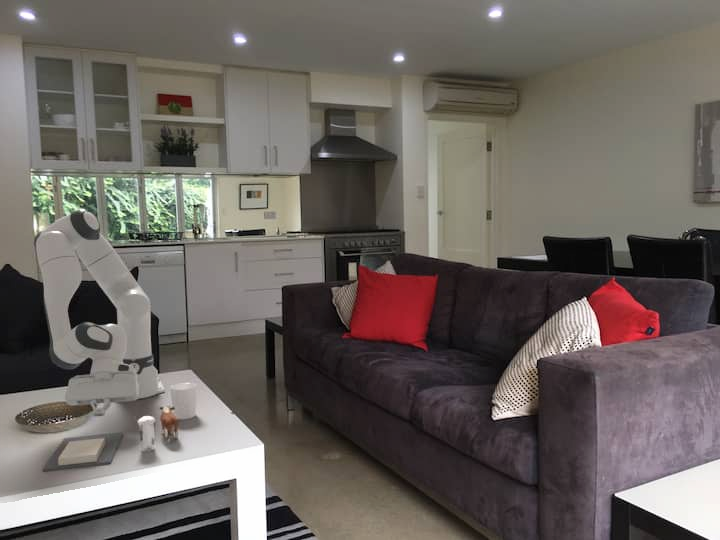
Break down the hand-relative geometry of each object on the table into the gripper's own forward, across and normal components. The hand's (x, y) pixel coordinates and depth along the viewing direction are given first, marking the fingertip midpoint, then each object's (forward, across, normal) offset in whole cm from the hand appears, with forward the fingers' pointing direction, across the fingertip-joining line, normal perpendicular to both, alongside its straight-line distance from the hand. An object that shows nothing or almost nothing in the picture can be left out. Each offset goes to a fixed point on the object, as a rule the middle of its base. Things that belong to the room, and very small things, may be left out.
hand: (98, 415), depth 167 cm
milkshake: (+13, +16, -3) cm, 20 cm away
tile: (+9, -1, -2) cm, 9 cm away
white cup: (-6, +21, +16) cm, 27 cm away
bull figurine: (+6, +20, +4) cm, 21 cm away
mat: (+11, -1, -2) cm, 12 cm away
